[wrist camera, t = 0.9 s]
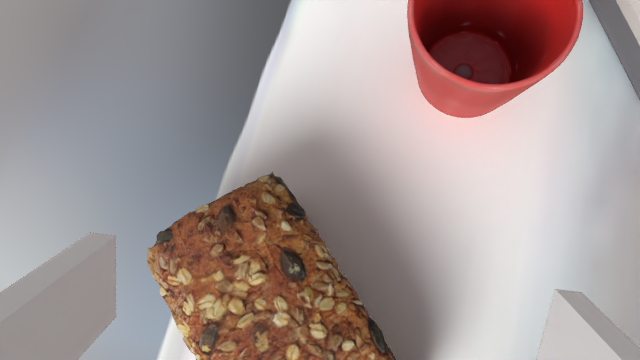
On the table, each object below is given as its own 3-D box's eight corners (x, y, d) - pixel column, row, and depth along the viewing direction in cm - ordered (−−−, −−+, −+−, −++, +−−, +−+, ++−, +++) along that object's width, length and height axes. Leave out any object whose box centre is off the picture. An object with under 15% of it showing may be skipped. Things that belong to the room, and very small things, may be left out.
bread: (186, 253, 37) (120, 244, 27) (296, 185, 37) (270, 151, 28) (301, 475, 33) (271, 558, 23) (425, 396, 33) (448, 445, 23)
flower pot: (386, 125, 37) (392, 73, 28) (411, 8, 39) (424, -78, 30) (519, 149, 36) (572, 102, 26) (538, 25, 38) (593, -59, 28)
